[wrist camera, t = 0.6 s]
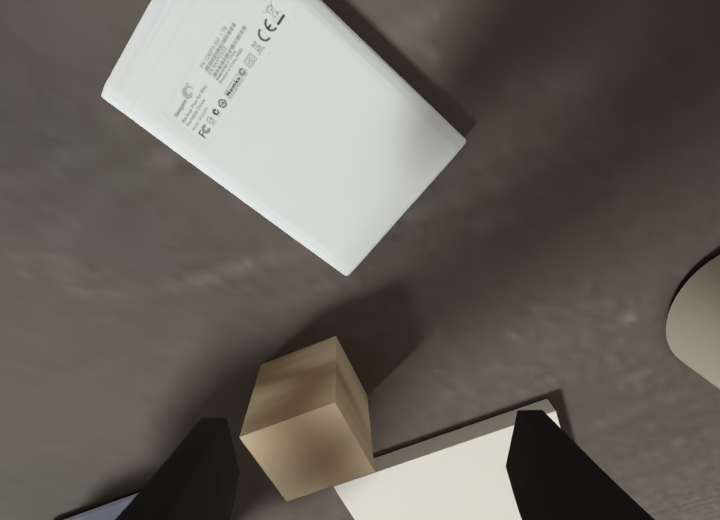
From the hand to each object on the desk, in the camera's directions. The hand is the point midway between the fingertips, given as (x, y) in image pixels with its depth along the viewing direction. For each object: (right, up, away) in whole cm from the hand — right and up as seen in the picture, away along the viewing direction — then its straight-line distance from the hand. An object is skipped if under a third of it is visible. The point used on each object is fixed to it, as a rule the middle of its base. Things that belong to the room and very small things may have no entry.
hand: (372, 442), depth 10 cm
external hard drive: (-3, +11, +7) cm, 14 cm away
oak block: (-3, -2, +12) cm, 12 cm away
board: (+7, -12, +16) cm, 22 cm away
